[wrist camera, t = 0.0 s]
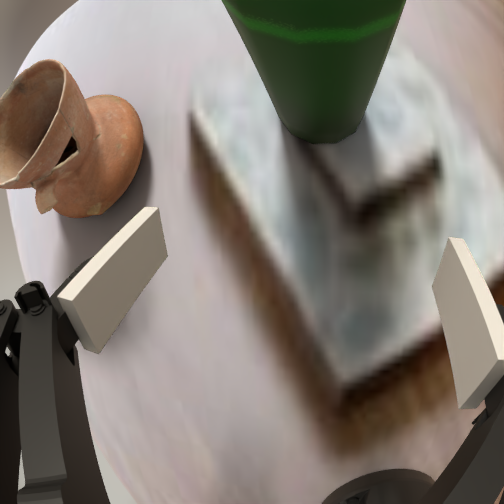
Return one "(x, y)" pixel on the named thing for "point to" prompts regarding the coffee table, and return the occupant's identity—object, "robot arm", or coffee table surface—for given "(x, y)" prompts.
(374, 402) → the coffee table surface
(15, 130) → the terracotta clay pot
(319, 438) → the coffee table surface
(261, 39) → the bottle
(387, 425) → the coffee table surface
